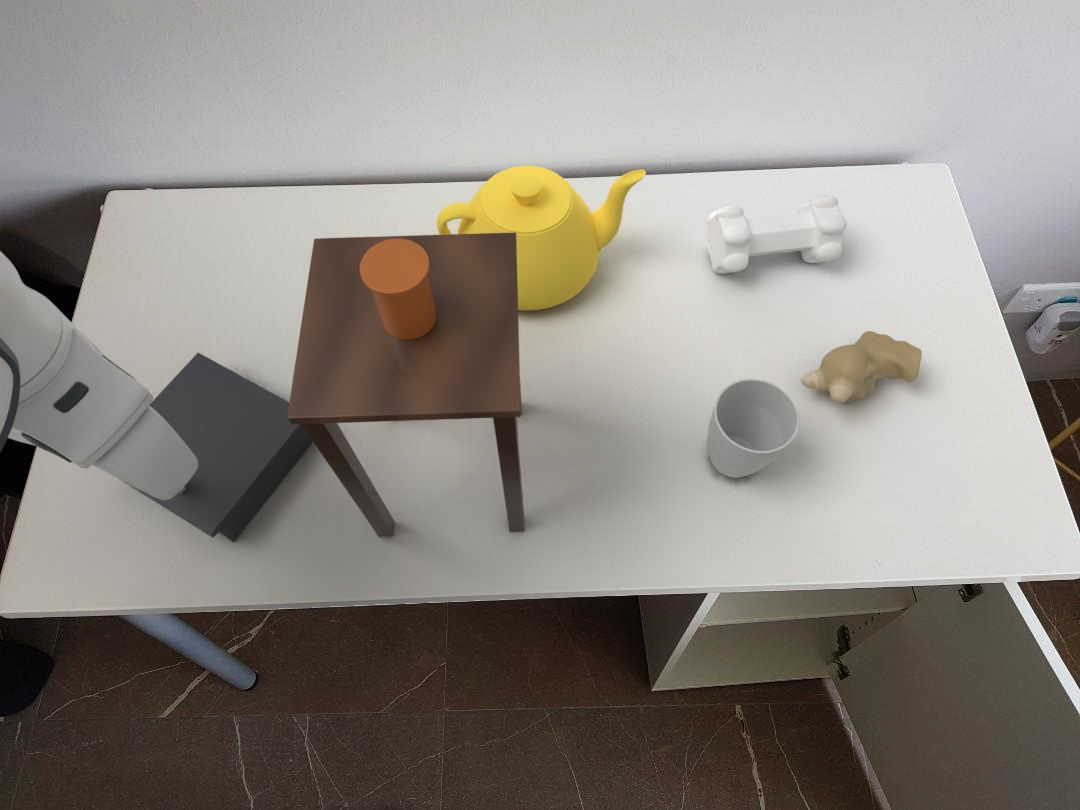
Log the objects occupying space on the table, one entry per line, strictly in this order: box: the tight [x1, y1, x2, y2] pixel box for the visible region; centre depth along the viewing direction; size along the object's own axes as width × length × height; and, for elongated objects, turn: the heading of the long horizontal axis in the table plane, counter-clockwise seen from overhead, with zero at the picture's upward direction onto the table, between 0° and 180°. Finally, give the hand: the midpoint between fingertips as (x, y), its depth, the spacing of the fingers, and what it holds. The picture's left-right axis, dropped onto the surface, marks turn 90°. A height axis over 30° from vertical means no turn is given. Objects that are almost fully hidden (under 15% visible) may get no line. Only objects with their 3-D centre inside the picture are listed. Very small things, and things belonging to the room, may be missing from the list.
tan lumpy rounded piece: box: [800, 330, 923, 404], centre depth 78 cm, size 8×7×12 cm
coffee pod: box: [360, 239, 437, 340], centre depth 49 cm, size 5×5×6 cm
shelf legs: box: [301, 383, 526, 538], centre depth 65 cm, size 15×15×27 cm
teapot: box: [436, 165, 647, 311], centre depth 84 cm, size 25×18×14 cm
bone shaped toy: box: [705, 194, 848, 275], centre depth 86 cm, size 15×9×8 cm, turn 98°
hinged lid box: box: [217, 427, 314, 543], centre depth 76 cm, size 15×16×4 cm
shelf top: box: [287, 232, 522, 424], centre depth 52 cm, size 16×16×1 cm
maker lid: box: [120, 352, 303, 539], centre depth 72 cm, size 15×16×5 cm
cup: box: [706, 378, 800, 479], centre depth 73 cm, size 8×8×10 cm
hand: (125, 454), depth 60 cm, fingers open, 8 cm apart
